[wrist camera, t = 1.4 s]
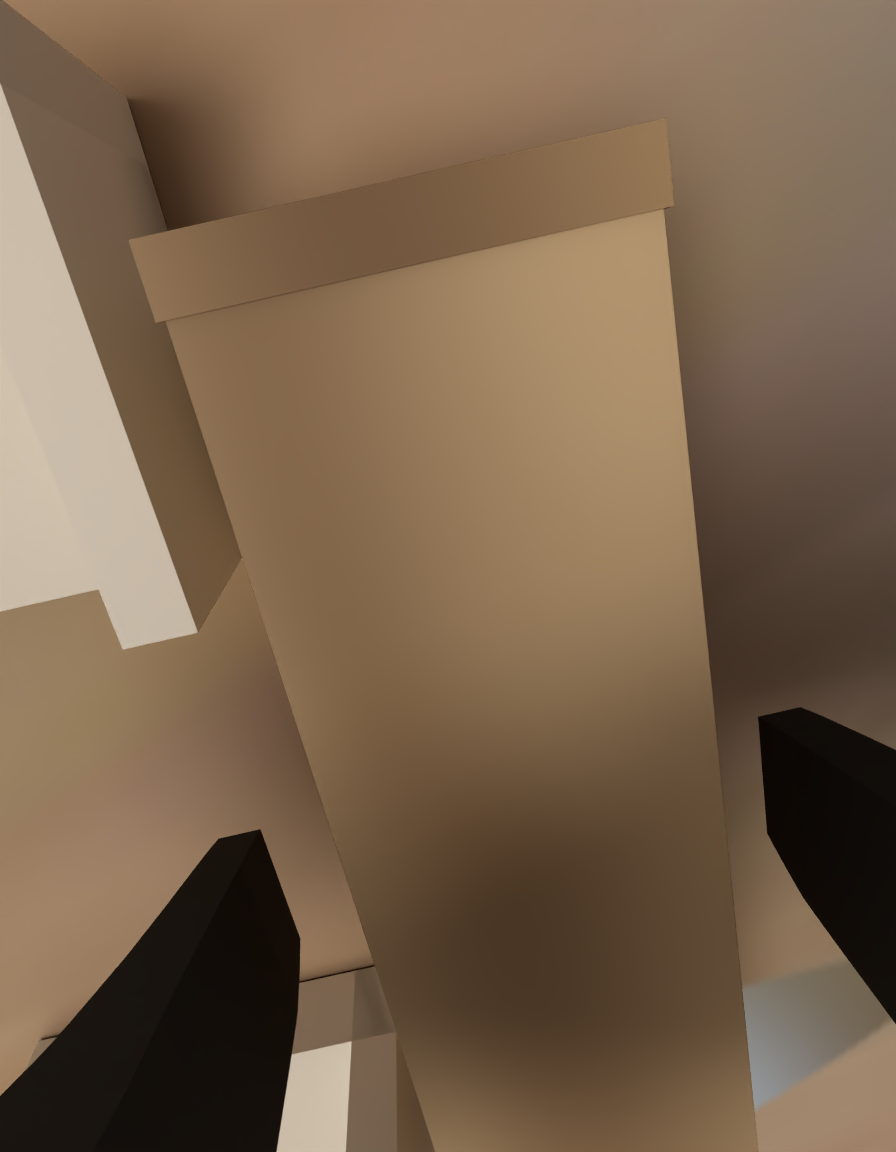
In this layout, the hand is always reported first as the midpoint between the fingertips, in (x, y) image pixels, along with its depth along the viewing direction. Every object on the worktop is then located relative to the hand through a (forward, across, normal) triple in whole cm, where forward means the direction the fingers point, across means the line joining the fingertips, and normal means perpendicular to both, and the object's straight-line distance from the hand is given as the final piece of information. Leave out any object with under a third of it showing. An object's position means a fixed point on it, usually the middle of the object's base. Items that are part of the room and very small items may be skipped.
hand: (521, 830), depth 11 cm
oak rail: (+3, 0, 0) cm, 3 cm away
